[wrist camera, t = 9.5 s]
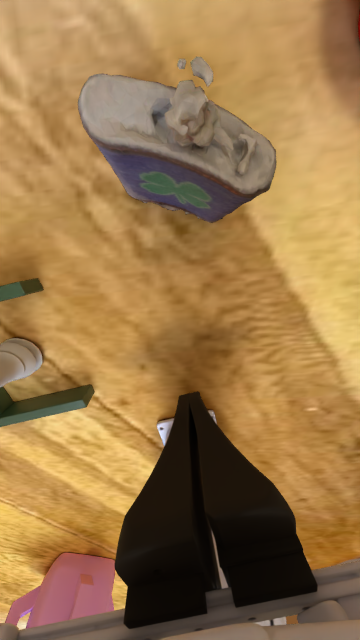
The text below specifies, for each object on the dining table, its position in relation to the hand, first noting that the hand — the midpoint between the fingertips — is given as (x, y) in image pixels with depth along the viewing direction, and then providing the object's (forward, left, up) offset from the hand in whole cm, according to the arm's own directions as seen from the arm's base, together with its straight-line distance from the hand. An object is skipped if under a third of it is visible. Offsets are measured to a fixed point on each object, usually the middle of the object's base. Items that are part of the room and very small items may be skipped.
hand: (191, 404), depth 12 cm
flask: (+14, -3, -10) cm, 17 cm away
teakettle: (-47, +32, -10) cm, 58 cm away
